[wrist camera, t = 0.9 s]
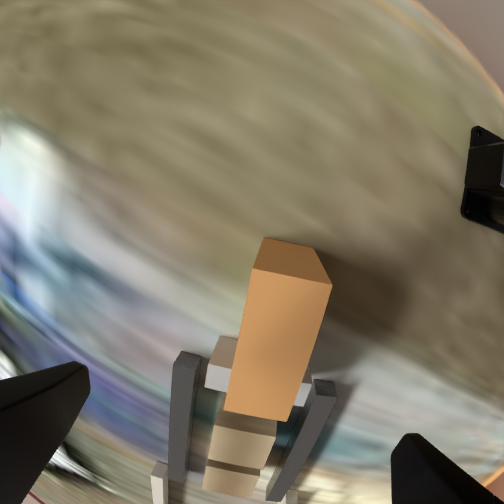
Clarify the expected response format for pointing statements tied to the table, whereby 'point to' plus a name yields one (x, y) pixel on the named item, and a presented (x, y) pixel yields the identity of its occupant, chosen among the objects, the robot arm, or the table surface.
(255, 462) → the beige cube
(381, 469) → the table surface
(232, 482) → the tan wooden cube
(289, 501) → the tray
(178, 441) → the slot rails
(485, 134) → the robot arm
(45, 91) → the table surface
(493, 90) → the table surface
